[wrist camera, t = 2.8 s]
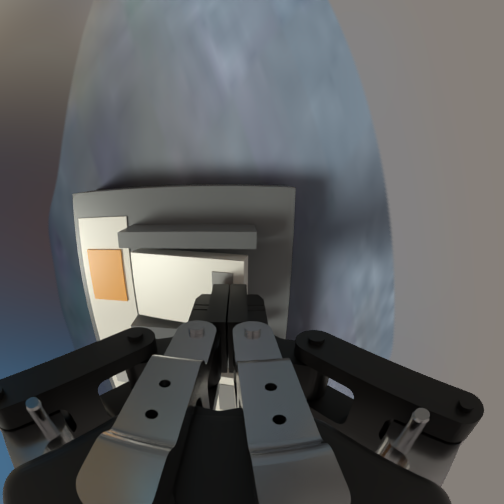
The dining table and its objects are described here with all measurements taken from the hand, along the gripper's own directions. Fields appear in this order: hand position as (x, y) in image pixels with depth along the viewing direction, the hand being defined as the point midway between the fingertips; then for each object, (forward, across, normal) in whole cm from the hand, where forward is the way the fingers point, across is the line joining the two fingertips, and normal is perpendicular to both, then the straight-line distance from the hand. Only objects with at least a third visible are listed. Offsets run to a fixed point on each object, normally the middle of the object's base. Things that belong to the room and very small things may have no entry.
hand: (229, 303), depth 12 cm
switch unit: (+6, +3, +7) cm, 10 cm away
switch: (+1, +2, 0) cm, 3 cm away
